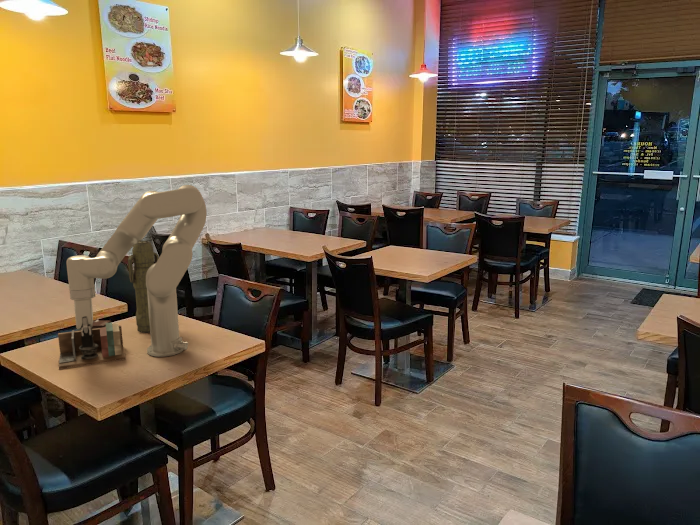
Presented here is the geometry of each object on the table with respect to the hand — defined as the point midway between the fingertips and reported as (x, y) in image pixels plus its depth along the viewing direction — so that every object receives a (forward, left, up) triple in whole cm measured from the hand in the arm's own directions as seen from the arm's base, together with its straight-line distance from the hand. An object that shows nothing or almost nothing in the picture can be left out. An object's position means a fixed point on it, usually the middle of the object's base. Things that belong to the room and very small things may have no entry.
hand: (87, 341), depth 182 cm
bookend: (+6, +3, -5) cm, 9 cm away
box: (+8, -15, -7) cm, 18 cm away
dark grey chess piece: (0, 0, -6) cm, 6 cm away
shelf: (0, -2, -6) cm, 7 cm away
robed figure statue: (0, -32, -6) cm, 33 cm away
